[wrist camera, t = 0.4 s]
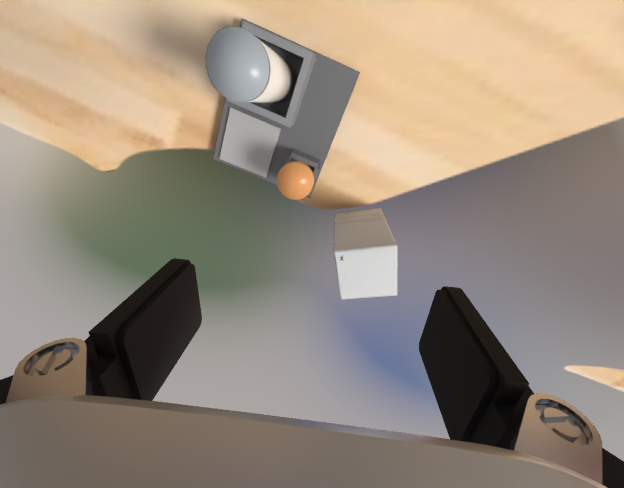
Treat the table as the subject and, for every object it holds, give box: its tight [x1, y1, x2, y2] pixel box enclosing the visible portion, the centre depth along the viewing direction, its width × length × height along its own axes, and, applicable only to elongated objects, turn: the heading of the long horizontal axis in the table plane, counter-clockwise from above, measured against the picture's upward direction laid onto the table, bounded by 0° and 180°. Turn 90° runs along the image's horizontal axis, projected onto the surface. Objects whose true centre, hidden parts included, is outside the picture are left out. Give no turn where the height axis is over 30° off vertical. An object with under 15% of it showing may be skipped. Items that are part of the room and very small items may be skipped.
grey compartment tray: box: [213, 19, 360, 198], centre depth 35 cm, size 17×15×5 cm
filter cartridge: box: [206, 27, 295, 103], centre depth 28 cm, size 5×5×14 cm
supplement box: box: [334, 208, 397, 299], centre depth 38 cm, size 7×7×13 cm
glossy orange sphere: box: [277, 161, 314, 200], centre depth 34 cm, size 4×4×4 cm
